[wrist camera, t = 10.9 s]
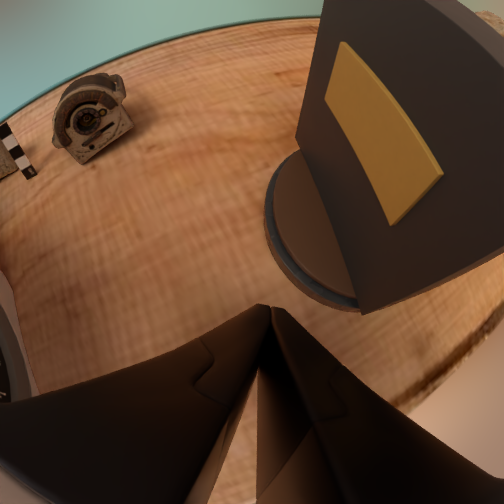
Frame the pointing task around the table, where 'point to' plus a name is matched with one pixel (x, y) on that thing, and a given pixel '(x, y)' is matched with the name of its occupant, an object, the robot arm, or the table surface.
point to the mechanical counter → (90, 115)
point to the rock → (492, 21)
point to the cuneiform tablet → (13, 155)
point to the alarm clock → (13, 351)
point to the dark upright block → (396, 151)
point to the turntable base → (291, 267)
